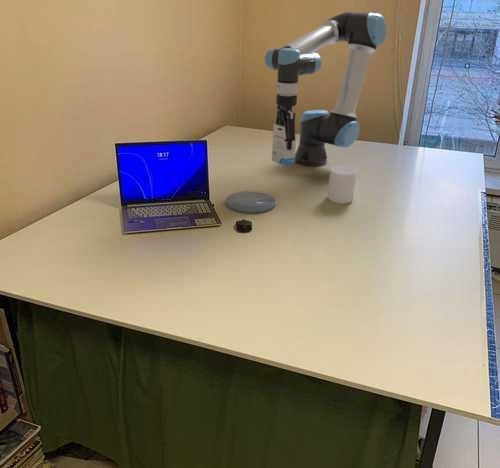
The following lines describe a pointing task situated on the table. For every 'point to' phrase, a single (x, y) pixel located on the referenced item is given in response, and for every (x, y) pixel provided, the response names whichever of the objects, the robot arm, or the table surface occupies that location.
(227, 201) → the dish
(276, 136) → the ink box
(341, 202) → the mug
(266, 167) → the table surface
